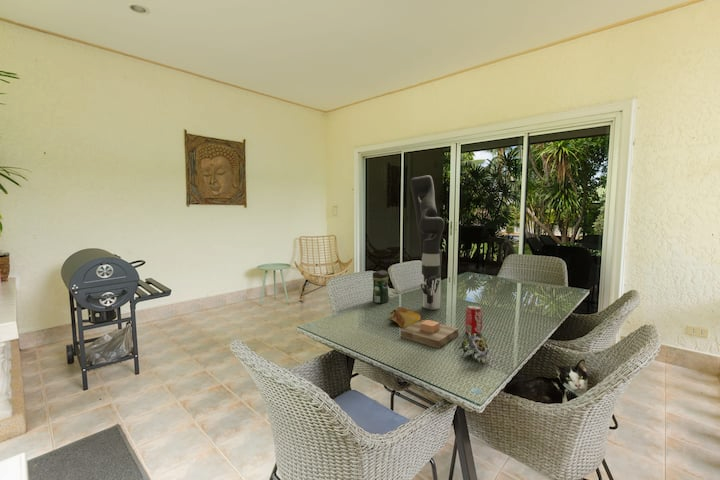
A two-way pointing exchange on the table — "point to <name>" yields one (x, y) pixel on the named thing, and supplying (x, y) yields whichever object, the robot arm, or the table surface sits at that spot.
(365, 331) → the table surface
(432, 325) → the push button
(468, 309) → the soda can
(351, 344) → the table surface
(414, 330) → the button plate
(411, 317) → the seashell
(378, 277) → the coffee jar
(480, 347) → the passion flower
